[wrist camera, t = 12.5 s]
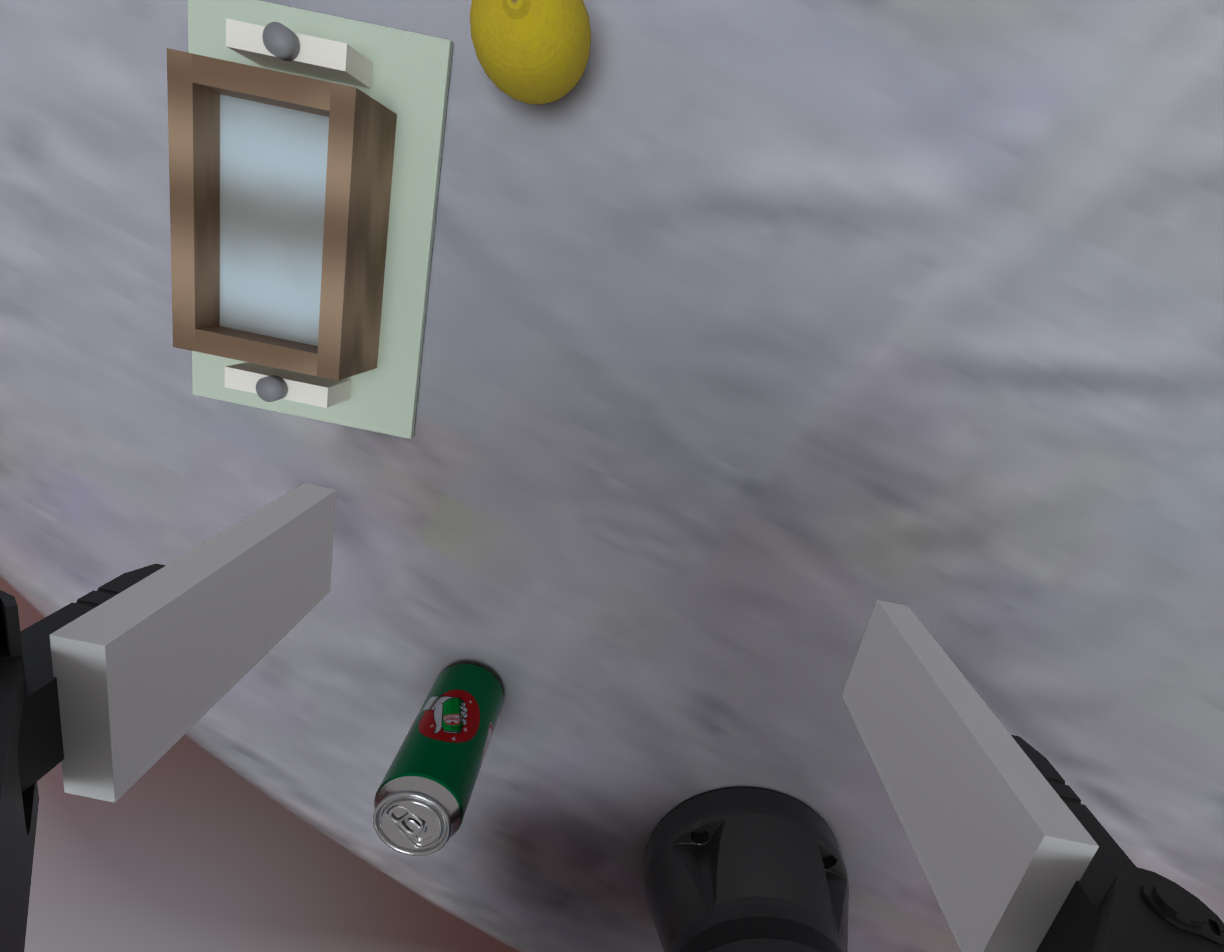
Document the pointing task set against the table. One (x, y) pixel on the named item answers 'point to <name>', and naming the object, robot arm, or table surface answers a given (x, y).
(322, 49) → the wall board
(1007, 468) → the table surface
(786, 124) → the table surface
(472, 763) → the soda can
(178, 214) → the brown wooden open box
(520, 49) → the lemon
